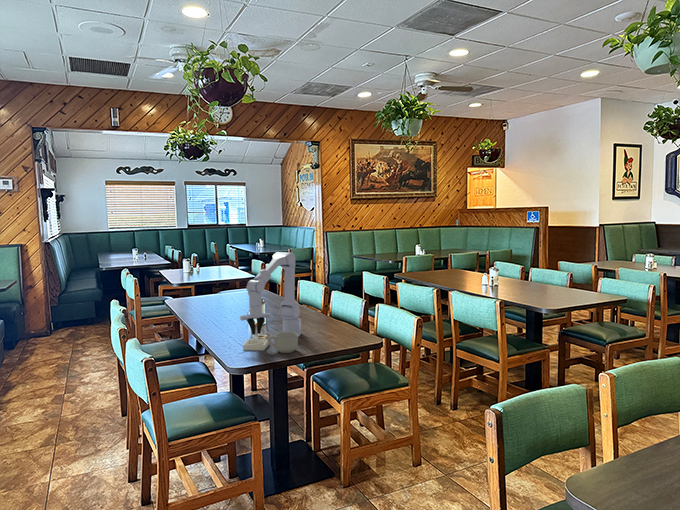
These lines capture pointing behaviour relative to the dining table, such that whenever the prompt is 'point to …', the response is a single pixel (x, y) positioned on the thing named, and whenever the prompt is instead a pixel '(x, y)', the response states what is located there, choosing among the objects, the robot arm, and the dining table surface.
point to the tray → (255, 344)
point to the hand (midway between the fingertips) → (256, 333)
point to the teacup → (285, 341)
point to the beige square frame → (262, 337)
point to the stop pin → (256, 333)
